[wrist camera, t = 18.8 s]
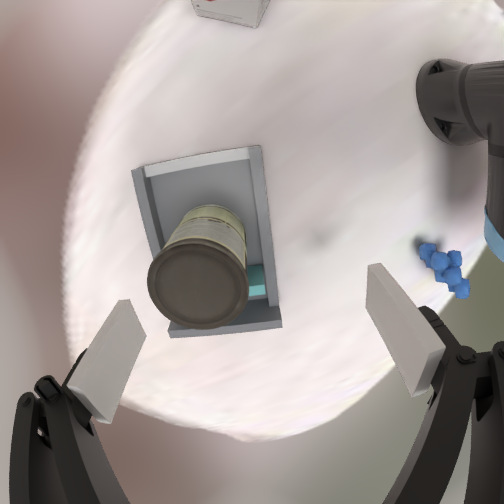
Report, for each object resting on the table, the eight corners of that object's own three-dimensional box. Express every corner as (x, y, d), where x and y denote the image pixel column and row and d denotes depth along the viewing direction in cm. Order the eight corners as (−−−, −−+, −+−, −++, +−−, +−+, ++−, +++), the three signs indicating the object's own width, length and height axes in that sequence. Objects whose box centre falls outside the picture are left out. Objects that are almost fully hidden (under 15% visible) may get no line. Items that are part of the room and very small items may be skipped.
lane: (139, 167, 35) (120, 174, 29) (259, 145, 35) (262, 147, 29) (178, 312, 45) (170, 338, 39) (277, 302, 45) (282, 327, 39)
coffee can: (256, 258, 41) (262, 317, 28) (192, 277, 42) (173, 338, 29) (234, 193, 37) (228, 227, 24) (166, 216, 38) (129, 259, 25)
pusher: (175, 275, 41) (166, 295, 36) (261, 264, 41) (264, 284, 36) (177, 283, 42) (169, 304, 37) (262, 273, 41) (265, 294, 36)
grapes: (453, 255, 42) (490, 285, 31) (431, 281, 44) (465, 316, 33) (427, 218, 39) (471, 246, 28) (403, 247, 41) (442, 282, 30)
